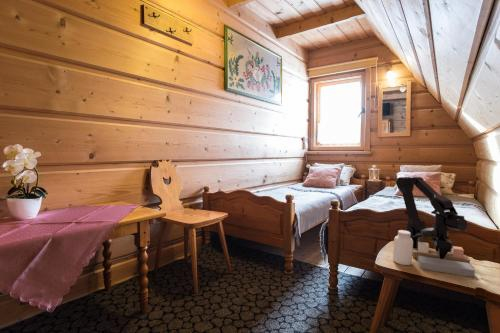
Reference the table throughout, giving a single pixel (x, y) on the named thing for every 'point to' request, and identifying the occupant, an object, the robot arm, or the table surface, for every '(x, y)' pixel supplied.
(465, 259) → the tan long bar
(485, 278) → the table surface
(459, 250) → the block
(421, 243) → the block
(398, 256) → the pill bottle
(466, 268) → the block
